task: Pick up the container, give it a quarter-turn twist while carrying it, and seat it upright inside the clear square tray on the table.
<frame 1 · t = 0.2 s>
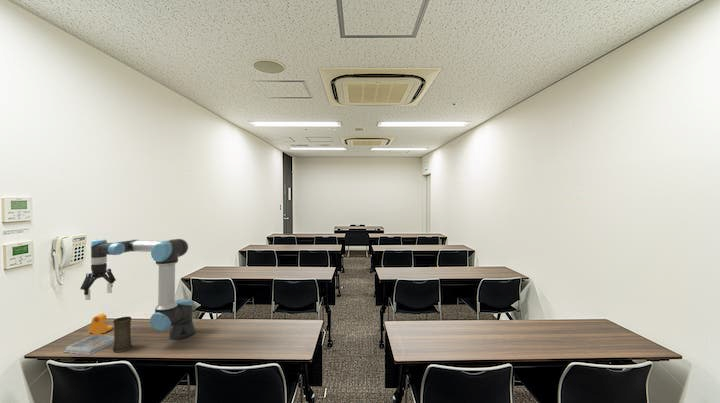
hand: (99, 296, 188), 28 cm above the table, fingers open, 13 cm apart
container: (122, 349, 176), on the table
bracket: (101, 332, 198), on the table
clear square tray: (92, 346, 178), on the table
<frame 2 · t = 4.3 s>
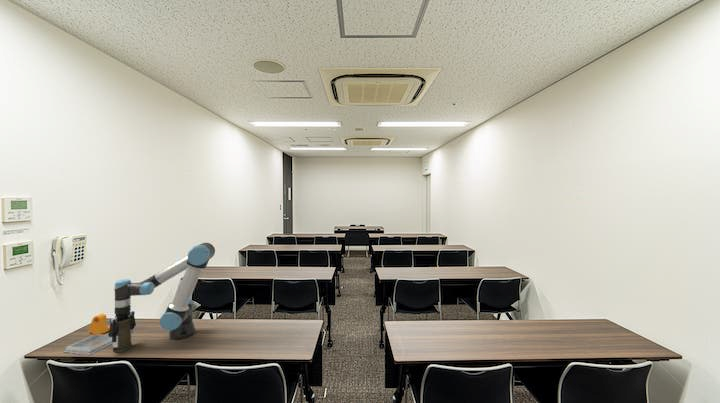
hand: (122, 343, 176), 3 cm above the table, fingers closed on container, 8 cm apart
container: (122, 349, 176), on the table, touching gripper
everything else where it was.
when the fingers open (6 cm above the table, at t = 11.5 s): container drops 2 cm, resting on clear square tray.
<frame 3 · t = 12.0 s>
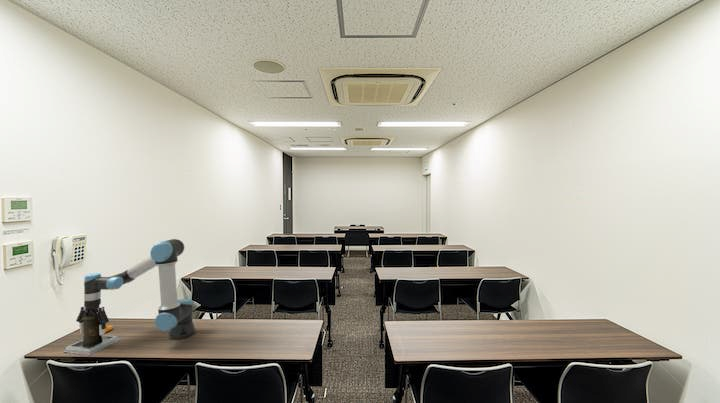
hand: (92, 333, 178), 8 cm above the table, fingers open, 13 cm apart
container: (92, 344, 178), point 1 cm above the table, touching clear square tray
everything else where it was.
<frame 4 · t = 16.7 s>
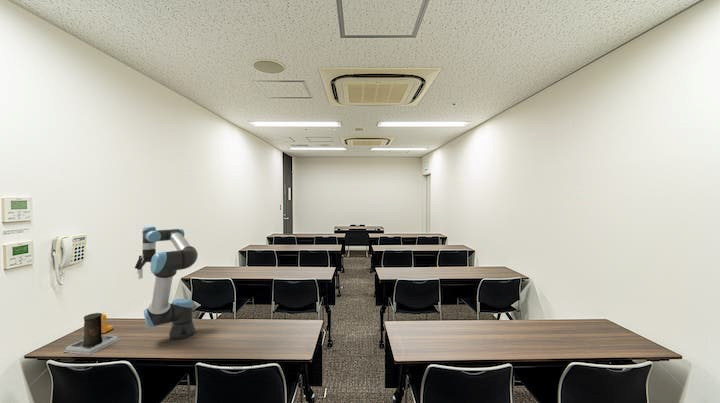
hand: (149, 279, 203), 35 cm above the table, fingers open, 13 cm apart
nothing on the table moved.
at the end: container inside the target area on the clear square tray (0.1 cm from its centre), point 0.8 cm above the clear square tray's base; container tilted 0°; the gripper is holding nothing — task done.
